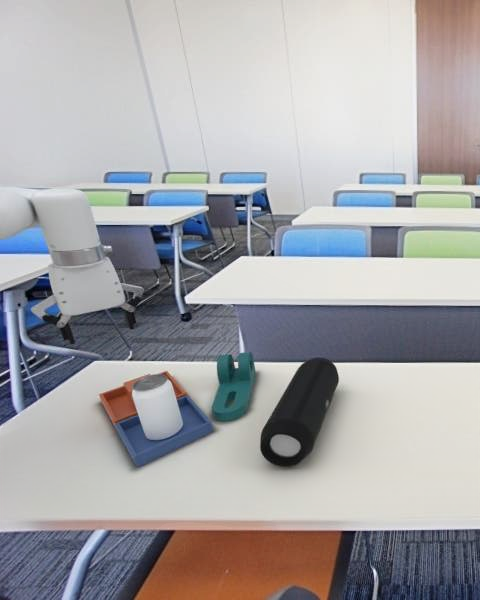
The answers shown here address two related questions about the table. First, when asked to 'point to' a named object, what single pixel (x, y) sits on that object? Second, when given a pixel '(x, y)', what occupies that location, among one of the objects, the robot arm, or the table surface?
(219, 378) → the bracket
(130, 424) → the blue tray
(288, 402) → the portable speaker
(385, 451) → the table surface
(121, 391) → the terracotta tray
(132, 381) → the block
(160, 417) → the can
